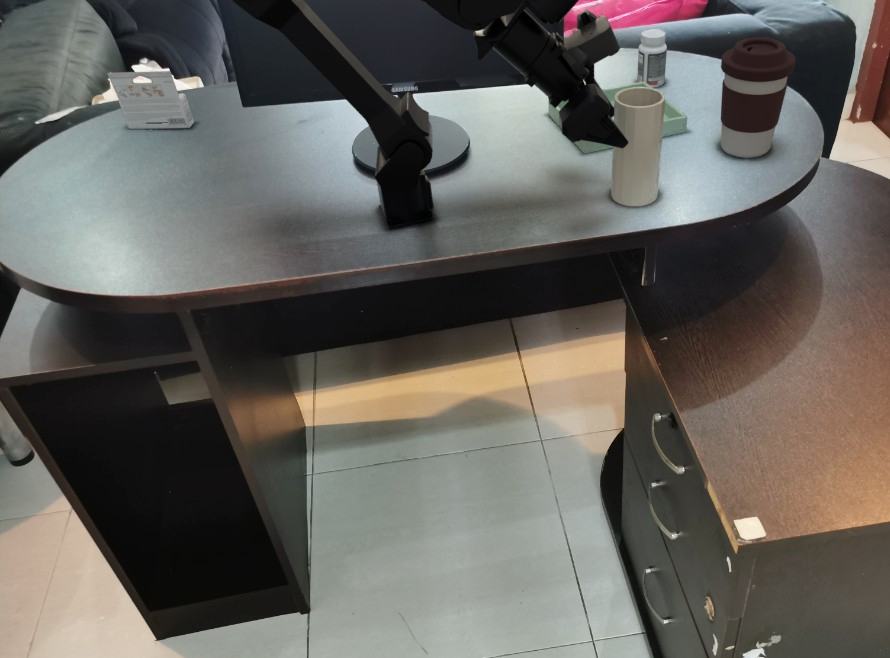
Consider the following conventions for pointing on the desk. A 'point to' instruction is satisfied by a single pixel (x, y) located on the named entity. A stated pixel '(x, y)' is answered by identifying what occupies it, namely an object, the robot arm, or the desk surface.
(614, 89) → the tray
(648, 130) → the tumbler
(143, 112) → the ink cartridge box
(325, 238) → the desk surface
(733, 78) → the coffee cup
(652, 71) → the pill bottle
